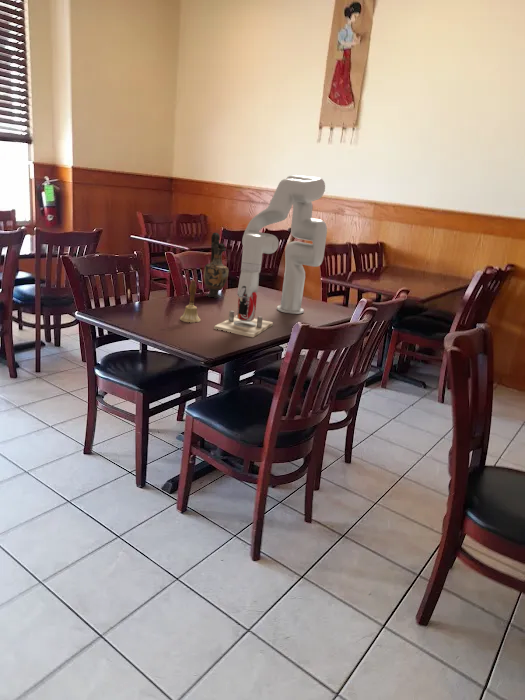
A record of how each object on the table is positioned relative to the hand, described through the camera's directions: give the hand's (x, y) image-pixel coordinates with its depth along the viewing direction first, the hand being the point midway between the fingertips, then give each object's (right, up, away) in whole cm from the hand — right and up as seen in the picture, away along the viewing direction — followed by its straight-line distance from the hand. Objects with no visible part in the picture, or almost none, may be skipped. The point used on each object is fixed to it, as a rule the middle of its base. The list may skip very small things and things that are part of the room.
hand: (246, 312), depth 196 cm
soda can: (0, -3, +1) cm, 3 cm away
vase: (-17, +11, +48) cm, 52 cm away
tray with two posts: (-1, -6, +2) cm, 6 cm away
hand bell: (-22, -3, +3) cm, 23 cm away
